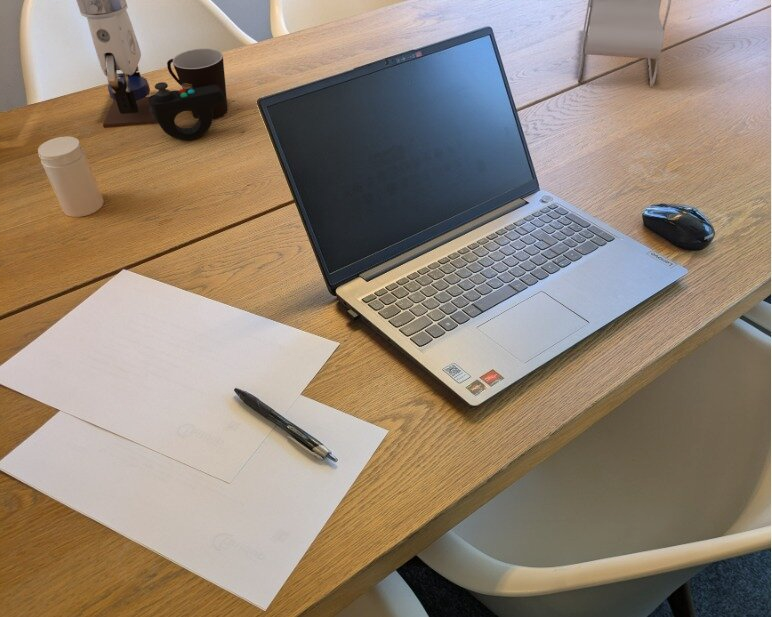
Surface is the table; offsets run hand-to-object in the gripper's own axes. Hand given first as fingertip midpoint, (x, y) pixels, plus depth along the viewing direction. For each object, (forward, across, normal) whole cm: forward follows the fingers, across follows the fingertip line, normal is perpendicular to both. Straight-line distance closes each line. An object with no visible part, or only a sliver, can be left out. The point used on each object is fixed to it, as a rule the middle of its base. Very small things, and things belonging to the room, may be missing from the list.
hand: (133, 102), depth 121 cm
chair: (+2, +5, -93) cm, 93 cm away
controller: (+2, -11, -12) cm, 16 cm away
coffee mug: (+2, -1, -13) cm, 13 cm away
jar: (+2, -30, +3) cm, 30 cm away
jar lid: (-3, 0, 0) cm, 3 cm away
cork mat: (+2, 0, 0) cm, 2 cm away
